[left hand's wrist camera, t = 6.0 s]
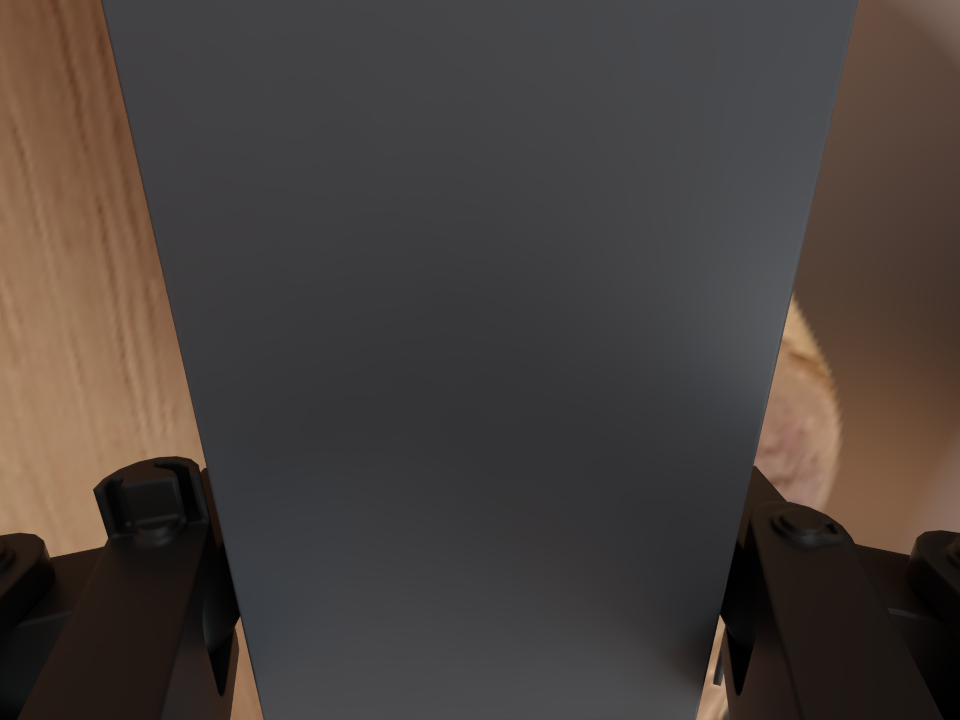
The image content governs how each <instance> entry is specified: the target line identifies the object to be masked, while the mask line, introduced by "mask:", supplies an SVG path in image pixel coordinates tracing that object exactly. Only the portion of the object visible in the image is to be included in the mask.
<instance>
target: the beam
mask: <svg viewBox="0 0 960 720" xmlns="http://www.w3.org/2000/svg"><path fill="white" fill-rule="evenodd" d="M101 3H102V7H103V12H104V16H105V20H106V25H107V29H108V34H109V38H110V42H111V47H112V51H113V56H114V60H115V65H116V69H117V73H118V78H119V82H120V87H121V91H122V95H123V100H124V104H125V109H126V113H127V118H128V122H129V126H130V131H131V135H132V140H133V144H134V148H135V153H136V157H137V162H138V166H139V171H140V175H141V179H142V184H143V188H144V193H145V197H146V202H147V206H148V210H149V215H150V219H151V224H152V228H153V232H154V237H155V241H156V246H157V250H158V255H159V259H160V263H161V268H162V272H163V277H164V281H165V285H166V290H167V294H168V299H169V303H170V308H171V312H172V316H173V321H174V325H175V330H176V334H177V339H178V343H179V347H180V352H181V356H182V361H183V365H184V369H185V374H186V378H187V383H188V387H189V392H190V396H191V400H192V405H193V409H194V414H195V418H196V422H197V427H198V431H199V436H200V440H201V445H202V449H203V453H204V458H205V462H206V467H207V471H208V475H209V480H210V484H211V489H212V493H213V498H214V502H215V506H216V511H217V515H218V520H219V524H220V529H221V533H222V537H223V542H224V546H225V551H226V555H227V559H228V564H229V568H230V573H231V577H232V582H233V586H234V590H235V595H236V599H237V604H238V608H239V612H240V617H241V621H242V626H243V630H244V635H245V639H246V643H247V648H248V652H249V657H250V661H251V666H252V670H253V674H254V679H255V683H256V688H257V692H258V696H259V701H260V705H261V710H262V714H263V719H264V720H696V717H697V713H698V709H699V704H700V700H701V695H702V691H703V686H704V682H705V677H706V673H707V669H708V664H709V660H710V655H711V651H712V646H713V642H714V637H715V633H716V629H717V624H718V620H719V615H720V611H721V606H722V602H723V598H724V593H725V589H726V584H727V580H728V575H729V571H730V566H731V562H732V558H733V553H734V549H735V544H736V540H737V535H738V531H739V527H740V522H741V518H742V513H743V509H744V504H745V500H746V495H747V491H748V487H749V482H750V478H751V473H752V469H753V464H754V460H755V456H756V451H757V447H758V442H759V438H760V433H761V429H762V424H763V420H764V416H765V411H766V407H767V402H768V398H769V393H770V389H771V385H772V380H773V376H774V371H775V367H776V362H777V358H778V353H779V349H780V345H781V340H782V336H783V331H784V327H785V322H786V318H787V314H788V309H789V305H790V300H791V296H792V291H793V287H794V282H795V278H796V274H797V269H798V265H799V260H800V256H801V251H802V247H803V242H804V238H805V234H806V229H807V225H808V220H809V216H810V211H811V207H812V202H813V198H814V194H815V189H816V185H817V180H818V176H819V171H820V167H821V162H822V158H823V154H824V149H825V145H826V140H827V136H828V132H829V127H830V123H831V118H832V114H833V109H834V105H835V101H836V96H837V92H838V87H839V83H840V78H841V74H842V69H843V65H844V61H845V56H846V52H847V47H848V43H849V38H850V34H851V29H852V25H853V21H854V16H855V12H856V7H857V3H858V0H101Z"/></svg>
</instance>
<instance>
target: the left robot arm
mask: <svg viewBox="0 0 960 720" xmlns="http://www.w3.org/2000/svg"><path fill="white" fill-rule="evenodd" d="M93 491H94V494H95V497H96V500H97V504H98V507H99V510H100V513H101V516H102V519H103V523H104V526H105V529H106V532H107V535H108V540H107V542H106V544H105V546H104V547H100V548H96V549H91V550H86V551H81V552H76V553H71V554H67V555H62V556H57V557H52V558H50V556H49V554H48V551H47V548H46V546H45V543H44V540H42V539H41V538H39V537H38V536H37V535H35V534H26V533H15V534H8V535H1V536H0V720H230V717H231V709H232V701H233V694H234V686H235V678H236V670H237V662H238V655H239V645H238V638H237V633H236V629H235V625H236V623H237V621H238V619H239V617H240V612H239V608H238V604H237V599H236V595H235V590H234V586H233V582H232V577H231V573H230V568H229V564H228V559H227V555H226V551H225V546H224V542H223V537H222V533H221V529H220V524H219V520H218V515H217V511H216V506H215V502H214V498H213V493H212V489H211V484H210V480H209V475H208V471H207V468H204V469H203V470H202V471H201V473H200V470H199V465H198V464H197V463H195V462H194V461H193V460H191V459H188V458H183V457H178V456H173V457H158V458H153V459H149V460H144V461H140V462H137V463H134V464H132V465H129V466H127V467H124V468H121V469H119V470H117V471H116V472H114V473H112V474H111V475H109V476H107V477H106V478H104V479H103V480H102V481H101V482H100V483H99V484H98V485H97V486H96V487H95V488H94V489H93ZM720 615H721V617H722V619H723V621H724V623H725V629H724V633H723V638H722V642H721V647H720V651H719V656H718V660H717V664H716V669H715V674H714V681H713V684H715V685H719V686H721V682H722V678H723V674H724V677H725V684H726V692H727V700H728V708H729V716H730V720H960V533H956V532H950V531H943V530H939V531H929V532H924V533H923V534H922V535H920V536H919V537H917V539H916V541H915V544H914V547H913V549H912V552H911V555H906V554H901V553H895V552H891V551H886V550H881V549H876V548H871V547H866V546H862V545H858V544H855V543H854V541H853V539H852V537H851V536H850V535H849V534H848V532H847V531H846V530H845V529H844V528H843V526H842V525H840V524H839V523H837V522H836V521H835V520H833V519H832V518H830V517H829V516H827V515H825V514H823V513H821V512H819V511H817V510H814V509H812V508H810V507H807V506H803V505H799V504H795V503H791V502H787V501H786V500H785V499H784V498H783V497H782V496H781V494H780V493H779V492H778V491H777V490H776V489H775V488H774V486H773V485H772V484H771V483H770V482H769V481H768V480H767V479H766V477H765V476H764V475H763V474H762V473H761V472H760V471H759V469H758V468H757V467H756V466H753V469H752V473H751V478H750V482H749V487H748V491H747V495H746V500H745V504H744V509H743V513H742V518H741V522H740V527H739V531H738V535H737V540H736V544H735V549H734V553H733V558H732V562H731V566H730V571H729V575H728V580H727V584H726V589H725V593H724V598H723V602H722V606H721V611H720Z"/></svg>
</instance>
